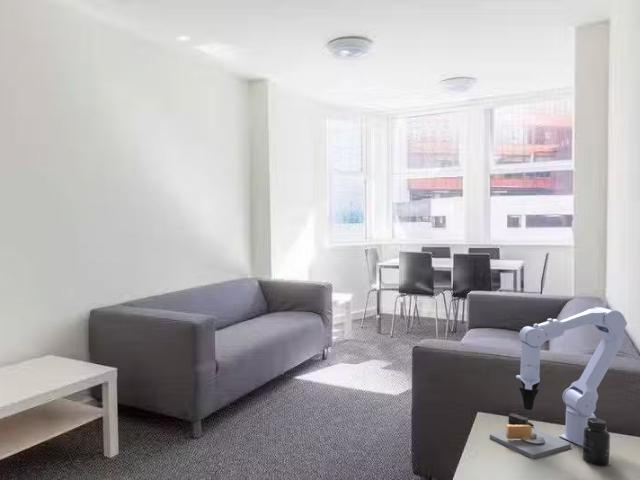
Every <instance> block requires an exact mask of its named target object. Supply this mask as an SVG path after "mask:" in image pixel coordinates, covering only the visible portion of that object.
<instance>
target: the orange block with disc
mask: <svg viewBox="0 0 640 480" xmlns="http://www.w3.org/2000/svg"><path fill="white" fill-rule="evenodd" d="M505 427H506V428H505V429H506V430H505V431H506V437H507V438H508V439H522V440H523V441H526V442H528V443H532V444H543V443H544V442H545V439H544V438H543V437H541V436H539V435H536V434H534V433H532V428H533V427H532V426H530V425H512V424H506V426H505Z"/></svg>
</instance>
